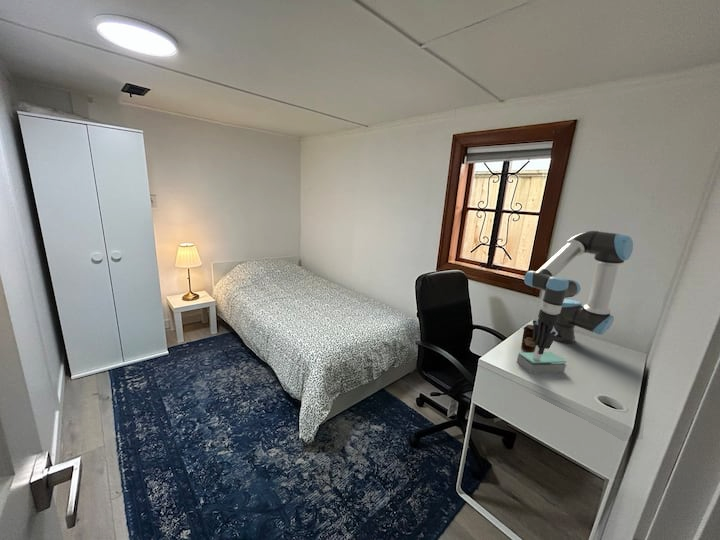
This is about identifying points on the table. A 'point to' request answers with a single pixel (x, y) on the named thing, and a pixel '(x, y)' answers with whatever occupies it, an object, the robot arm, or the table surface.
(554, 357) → the cover
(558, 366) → the grey flat bent block
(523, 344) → the coffee cup
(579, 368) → the table surface
